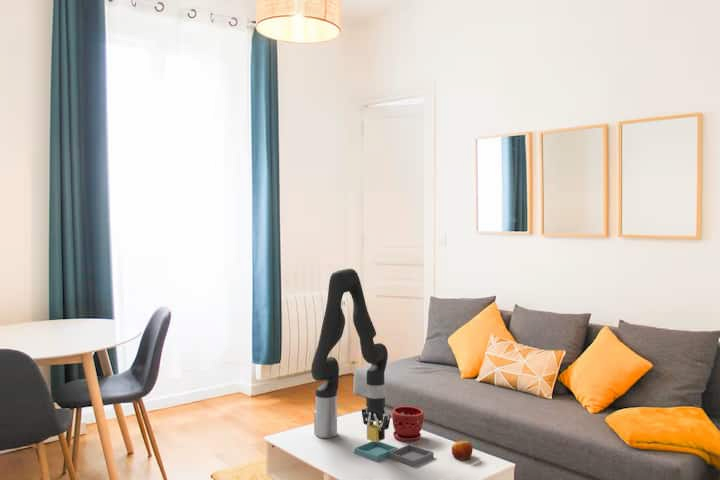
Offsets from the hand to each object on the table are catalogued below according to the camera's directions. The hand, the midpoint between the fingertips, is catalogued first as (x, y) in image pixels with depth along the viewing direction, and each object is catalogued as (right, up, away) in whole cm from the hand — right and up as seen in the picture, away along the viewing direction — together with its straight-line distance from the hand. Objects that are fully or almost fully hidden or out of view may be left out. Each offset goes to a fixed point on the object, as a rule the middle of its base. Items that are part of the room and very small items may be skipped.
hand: (375, 437), depth 238 cm
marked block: (0, -1, 0) cm, 1 cm away
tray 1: (0, -7, 0) cm, 7 cm away
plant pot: (+14, -6, +18) cm, 23 cm away
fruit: (+33, -7, -4) cm, 34 cm away
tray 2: (+14, -7, -4) cm, 16 cm away
